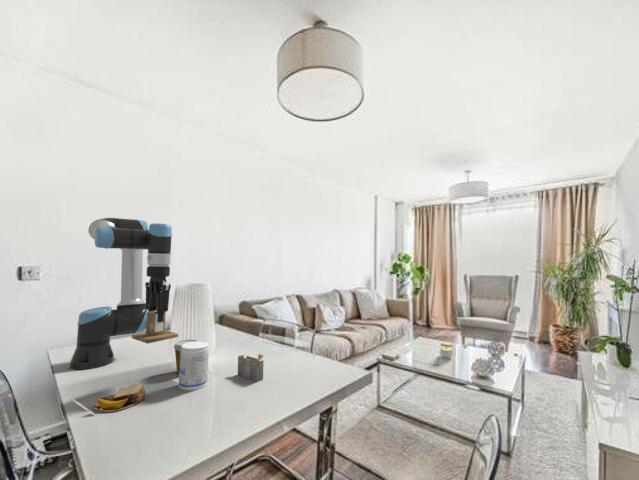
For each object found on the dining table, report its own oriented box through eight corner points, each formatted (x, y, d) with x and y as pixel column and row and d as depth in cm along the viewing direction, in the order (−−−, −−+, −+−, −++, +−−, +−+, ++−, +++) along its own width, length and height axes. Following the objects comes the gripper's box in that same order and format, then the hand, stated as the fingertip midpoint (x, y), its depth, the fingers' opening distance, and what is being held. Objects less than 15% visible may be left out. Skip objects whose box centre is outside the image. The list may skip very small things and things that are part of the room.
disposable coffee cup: (189, 378, 118) (190, 346, 119) (167, 376, 120) (168, 344, 121) (203, 369, 127) (204, 340, 128) (182, 367, 129) (183, 338, 130)
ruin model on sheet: (263, 380, 118) (264, 354, 119) (258, 383, 116) (258, 356, 116) (243, 373, 124) (244, 349, 125) (237, 376, 122) (238, 351, 123)
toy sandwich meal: (106, 397, 102) (107, 382, 102) (150, 395, 104) (150, 380, 104) (83, 416, 89) (84, 399, 90) (134, 413, 91) (134, 397, 92)
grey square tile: (127, 387, 109) (127, 385, 109) (160, 376, 119) (160, 375, 119) (144, 395, 102) (144, 394, 102) (178, 384, 112) (178, 383, 112)
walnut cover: (131, 338, 111) (133, 312, 111) (161, 332, 120) (162, 308, 120) (147, 343, 104) (148, 316, 105) (177, 337, 114) (179, 311, 114)
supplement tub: (173, 386, 110) (175, 344, 111) (198, 379, 117) (200, 339, 118) (186, 394, 104) (188, 350, 105) (212, 386, 111) (214, 344, 112)
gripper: (136, 265, 115) (133, 328, 114) (160, 266, 106) (157, 336, 105) (156, 264, 121) (153, 325, 120) (181, 266, 112) (178, 331, 111)
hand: (155, 330), depth 112 cm, fingers closed on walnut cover, 3 cm apart
